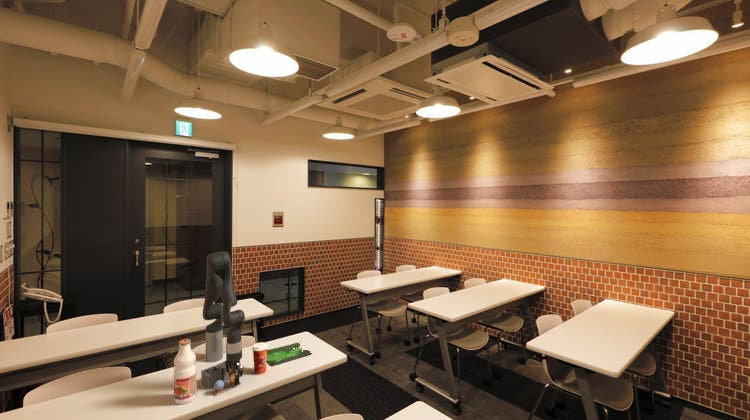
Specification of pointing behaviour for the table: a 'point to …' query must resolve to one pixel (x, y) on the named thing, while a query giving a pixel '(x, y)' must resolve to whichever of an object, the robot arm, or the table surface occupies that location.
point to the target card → (225, 383)
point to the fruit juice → (185, 374)
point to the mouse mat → (285, 354)
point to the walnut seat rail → (225, 388)
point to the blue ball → (219, 385)
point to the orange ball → (232, 378)
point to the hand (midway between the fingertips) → (234, 382)
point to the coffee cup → (260, 357)
